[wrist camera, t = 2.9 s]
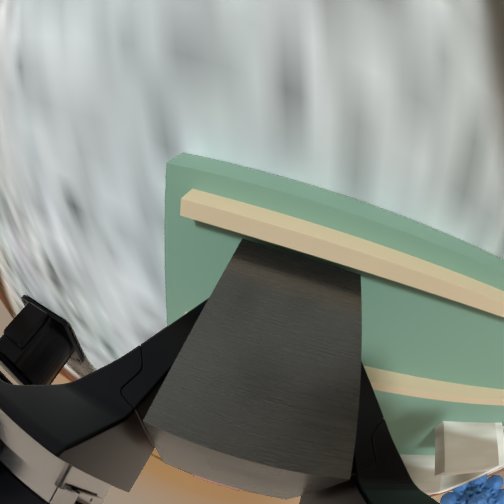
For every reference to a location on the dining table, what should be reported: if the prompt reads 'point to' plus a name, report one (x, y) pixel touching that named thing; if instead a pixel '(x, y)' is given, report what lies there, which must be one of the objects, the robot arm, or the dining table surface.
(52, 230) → the dining table surface
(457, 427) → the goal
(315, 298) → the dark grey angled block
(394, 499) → the robot arm
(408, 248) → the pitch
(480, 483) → the grapes
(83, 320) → the dining table surface
